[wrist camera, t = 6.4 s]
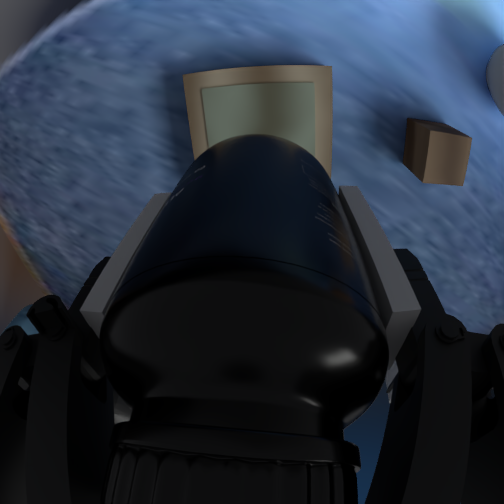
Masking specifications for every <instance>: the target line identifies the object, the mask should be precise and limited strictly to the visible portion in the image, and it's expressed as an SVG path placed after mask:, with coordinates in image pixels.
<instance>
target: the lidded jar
mask: <svg viewBox="0 0 504 504" xmlns="http://www.w3.org/2000/svg"><path fill="white" fill-rule="evenodd" d="M486 80H487V85H488V88H489V90H490V93H491V96H492V98H493V100H494V102H495V104H496V106H497V108H498V109H499V111H500V112H501V113H502V115H503V116H504V44H503V45H501V46H499V47H498V48H497V49H496V50H495V51H494V52H493V54H492V55H491V57H490V60H489V62H488V65H487V69H486Z"/></svg>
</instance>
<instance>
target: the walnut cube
mask: <svg viewBox="0 0 504 504" xmlns="http://www.w3.org/2000/svg"><path fill="white" fill-rule="evenodd" d="M471 142H472V138H471V137H469V136H468V135H466V134H464V133H462V132H460V131H458V130H456V129H455V128H453V127H451V126H449V125H447V124H442V123H437V122H431V121H425V120H418V119H411V118H407V128H406V139H405V148H404V156H403V164H404V165H405V166H406V167H407V168H408V169H409V170H410V171H411V172H412V173H413V174H414V175H415V176H416V177H417V178H418V179H419V180H421V181H422V182H423V183H433V184H445V185H457V186H463V183H464V179H465V174H466V170H467V165H468V159H469V154H470V148H471Z"/></svg>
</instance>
